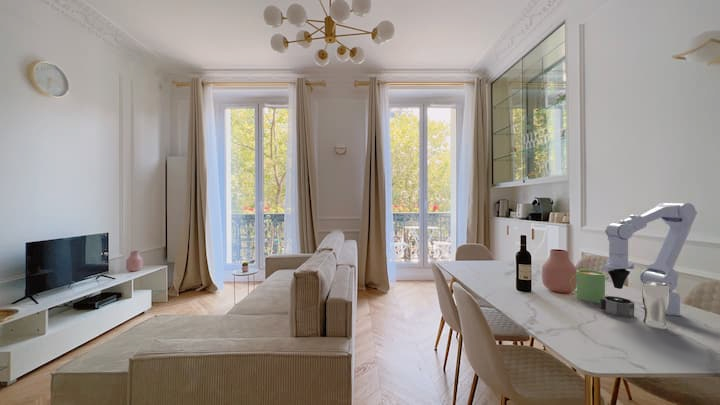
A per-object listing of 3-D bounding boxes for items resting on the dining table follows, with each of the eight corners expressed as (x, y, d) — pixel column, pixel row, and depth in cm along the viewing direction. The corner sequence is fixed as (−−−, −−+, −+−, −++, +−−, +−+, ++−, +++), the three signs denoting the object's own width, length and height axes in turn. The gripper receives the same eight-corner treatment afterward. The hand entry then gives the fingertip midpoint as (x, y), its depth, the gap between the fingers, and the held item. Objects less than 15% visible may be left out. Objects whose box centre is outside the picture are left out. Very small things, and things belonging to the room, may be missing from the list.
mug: (603, 297, 139) (603, 271, 139) (606, 304, 130) (606, 276, 130) (569, 292, 146) (569, 267, 146) (570, 298, 137) (570, 272, 137)
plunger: (624, 309, 122) (624, 297, 122) (632, 315, 116) (632, 303, 116) (603, 307, 125) (603, 295, 125) (610, 313, 118) (611, 301, 118)
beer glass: (674, 330, 104) (674, 287, 104) (650, 329, 106) (651, 285, 106) (658, 322, 111) (659, 281, 111) (636, 320, 113) (637, 280, 112)
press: (626, 310, 123) (626, 297, 123) (637, 318, 115) (638, 305, 114) (596, 307, 126) (596, 294, 126) (605, 315, 118) (605, 301, 118)
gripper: (620, 251, 127) (620, 283, 127) (594, 253, 123) (594, 286, 123) (640, 254, 120) (640, 288, 120) (613, 256, 116) (612, 292, 116)
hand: (618, 288), depth 121 cm, fingers closed
